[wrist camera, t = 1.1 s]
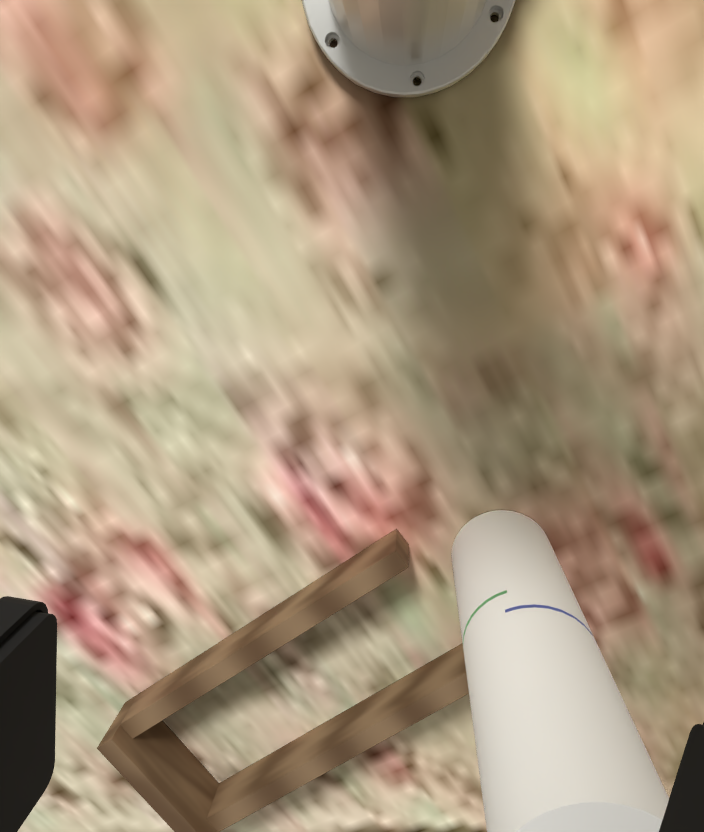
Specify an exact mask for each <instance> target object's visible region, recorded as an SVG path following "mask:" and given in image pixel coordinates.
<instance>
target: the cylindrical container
mask: <svg viewBox="0 0 704 832" xmlns="http://www.w3.org/2000/svg"><path fill="white" fill-rule="evenodd" d="M451 558H452V566H453V574H454V582H455V589H456V597H457V605H458V613H459V620H460V628H461V636H462V643H463V651H464V659H465V666H466V674H467V682H468V689H469V697H470V705H471V712H472V720H473V728H474V735H475V743H476V751H477V758H478V766H479V774H480V781H481V789H482V797H483V804H484V812H485V820H486V827H487V832H659V830H660V826H661V823H662V820H663V817H664V814H665V811H666V807H667V804H668V801H669V797H668V795H667V793H666V791H665V788H664V786H663V784H662V782H661V780H660V778H659V776H658V773H657V771H656V769H655V767H654V765H653V763H652V760H651V758H650V756H649V754H648V752H647V750H646V748H645V745H644V743H643V741H642V739H641V737H640V735H639V733H638V730H637V728H636V726H635V724H634V722H633V720H632V718H631V715H630V713H629V711H628V709H627V707H626V705H625V703H624V700H623V698H622V696H621V694H620V692H619V690H618V688H617V685H616V683H615V681H614V679H613V677H612V675H611V673H610V670H609V668H608V666H607V664H606V662H605V660H604V658H603V655H602V653H601V651H600V649H599V647H598V645H597V643H596V640H595V638H594V636H593V634H592V632H591V630H590V628H589V625H588V623H587V621H586V619H585V617H584V615H583V612H582V610H581V608H580V606H579V604H578V602H577V600H576V597H575V595H574V593H573V591H572V589H571V587H570V584H569V582H568V580H567V578H566V576H565V574H564V572H563V569H562V567H561V565H560V563H559V561H558V559H557V557H556V555H555V552H554V550H553V548H552V546H551V544H550V542H549V540H548V538H547V536H546V534H545V532H544V531H543V529H542V528H541V527H540V526H539V524H537V523H536V522H535V521H534V520H532V519H531V518H529V517H527V516H525V515H523V514H521V513H518V512H514V511H508V510H496V511H490V512H486V513H483V514H481V515H478V516H476V517H474V518H473V519H471V520H470V521H469V522H467V523H466V524H465V525H464V526H463V527H462V528H461V529H460V531H459V533H458V534H457V536H456V538H455V540H454V543H453V546H452V553H451Z"/></svg>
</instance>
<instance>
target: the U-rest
mask: <svg viewBox="0 0 704 832" xmlns="http://www.w3.org/2000/svg"><path fill="white" fill-rule="evenodd" d="M408 564H409V544H408V543H407V542H406V540H405V539H404V538H403V536H402V535H401V534H400V532H399V531H398V530H397V529H396V530H394V531H392V532H391V533H389V534H388V535H386V536H385V537H383V538H381V539H380V540H378V541H377V542H375V543H374V544H372V545H371V546H369V547H367V548H366V549H364V550H363V551H361V552H360V553H358V554H356V555H355V556H353V557H352V558H350V559H349V560H347V561H346V562H344V563H342V564H341V565H339V566H338V567H336V568H335V569H333V570H332V571H330V572H328V573H327V574H325V575H324V576H322V577H321V578H319V579H317V580H316V581H314V582H313V583H311V584H310V585H308V586H307V587H305V588H303V589H302V590H300V591H299V592H297V593H296V594H294V595H292V596H291V597H289V598H288V599H286V600H285V601H283V602H282V603H280V604H278V605H277V606H275V607H274V608H272V609H271V610H269V611H267V612H266V613H264V614H263V615H261V616H260V617H258V618H257V619H255V620H253V621H252V622H250V623H249V624H247V625H246V626H244V627H243V628H241V629H239V630H238V631H236V632H235V633H233V634H232V635H230V636H228V637H227V638H225V639H224V640H222V641H221V642H219V643H218V644H216V645H214V646H213V647H211V648H210V649H208V650H207V651H205V652H203V653H202V654H200V655H199V656H197V657H196V658H194V659H193V660H191V661H189V662H188V663H186V664H185V665H183V666H182V667H180V668H178V669H177V670H175V671H174V672H172V673H171V674H169V675H168V676H166V677H164V678H163V679H161V680H160V681H158V682H157V683H155V684H154V685H152V686H150V687H149V688H147V689H146V690H144V691H143V692H141V693H139V694H138V695H136V696H135V697H133V698H132V699H130V700H129V701H127V702H125V704H124V705H123V707H122V709H121V710H120V712H119V714H118V715H117V717H116V718H115V720H114V722H113V723H112V725H111V726H110V728H109V730H108V731H107V733H106V734H105V736H104V738H103V739H102V741H101V743H100V744H99V746H98V747H97V749H98V750H99V751H100V752H101V753H102V754H103V755H104V756H105V757H106V759H107V760H108V761H109V762H110V763H111V764H112V765H113V766H114V767H115V768H116V769H117V770H118V771H119V772H120V774H121V775H122V776H123V777H124V778H125V779H126V780H127V781H128V782H129V783H130V784H131V785H132V786H133V788H134V789H135V790H136V791H137V792H138V793H139V794H140V795H141V796H142V797H143V798H144V799H145V800H146V801H147V803H148V804H149V805H150V806H151V807H152V808H153V809H154V810H155V811H156V812H157V813H158V814H159V815H160V816H161V818H162V819H163V820H164V821H165V822H166V823H167V824H168V825H169V826H170V827H171V828H172V829H173V830H174V832H219V831H221V830H223V829H225V828H227V827H229V826H230V825H232V824H234V823H236V822H238V821H239V820H241V819H243V818H245V817H247V816H248V815H250V814H252V813H254V812H256V811H257V810H259V809H261V808H263V807H265V806H266V805H268V804H270V803H272V802H274V801H275V800H277V799H279V798H281V797H283V796H284V795H286V794H288V793H290V792H292V791H294V790H295V789H297V788H299V787H301V786H303V785H304V784H306V783H308V782H310V781H312V780H313V779H315V778H317V777H319V776H321V775H322V774H324V773H326V772H328V771H330V770H331V769H333V768H335V767H337V766H339V765H340V764H342V763H344V762H346V761H348V760H349V759H351V758H353V757H355V756H357V755H358V754H360V753H362V752H364V751H366V750H368V749H369V748H371V747H373V746H375V745H377V744H378V743H380V742H382V741H384V740H386V739H387V738H389V737H391V736H393V735H395V734H396V733H398V732H400V731H402V730H404V729H405V728H407V727H409V726H411V725H413V724H414V723H416V722H418V721H420V720H422V719H423V718H425V717H427V716H429V715H431V714H433V713H434V712H436V711H438V710H440V709H442V708H443V707H445V706H447V705H449V704H451V703H452V702H454V701H456V700H458V699H460V698H461V697H463V696H465V695H467V694H469V689H468V682H467V674H466V666H465V659H464V651H463V643H462V644H460V645H459V646H457V647H455V648H454V649H452V650H450V651H448V652H447V653H445V654H443V655H441V656H440V657H438V658H436V659H434V660H433V661H431V662H429V663H428V664H426V665H424V666H422V667H421V668H419V669H417V670H415V671H414V672H412V673H410V674H408V675H407V676H405V677H403V678H401V679H400V680H398V681H396V682H395V683H393V684H391V685H389V686H388V687H386V688H384V689H382V690H381V691H379V692H377V693H375V694H374V695H372V696H370V697H368V698H367V699H365V700H363V701H362V702H360V703H358V704H356V705H355V706H353V707H351V708H349V709H348V710H346V711H344V712H342V713H341V714H339V715H337V716H335V717H334V718H332V719H330V720H329V721H327V722H325V723H323V724H322V725H320V726H318V727H316V728H315V729H313V730H311V731H309V732H308V733H306V734H304V735H303V736H301V737H299V738H297V739H296V740H294V741H292V742H290V743H289V744H287V745H285V746H283V747H282V748H280V749H278V750H276V751H275V752H273V753H271V754H270V755H268V756H266V757H264V758H263V759H261V760H259V761H257V762H256V763H254V764H252V765H250V766H249V767H247V768H245V769H243V770H242V771H240V772H238V773H237V774H235V775H233V776H231V777H230V778H228V779H226V780H224V781H223V782H221V783H218V782H217V781H216V780H215V779H214V777H213V776H212V775H211V774H210V773H209V772H208V771H207V770H206V769H205V767H204V766H203V765H202V764H201V763H200V762H199V761H198V760H197V759H196V757H195V756H194V755H193V754H192V753H191V752H190V751H189V750H188V749H187V747H186V746H185V745H184V744H183V743H182V742H181V741H180V740H179V739H178V738H177V736H176V735H175V734H174V733H173V732H172V731H171V730H170V729H169V728H168V726H167V725H166V724H165V723H164V722H163V721H162V720H164V719H165V718H167V717H168V716H170V715H172V714H173V713H175V712H176V711H178V710H180V709H181V708H183V707H185V706H186V705H188V704H189V703H191V702H193V701H194V700H196V699H197V698H199V697H201V696H202V695H204V694H205V693H207V692H209V691H210V690H212V689H213V688H215V687H217V686H218V685H220V684H222V683H223V682H225V681H226V680H228V679H230V678H231V677H233V676H234V675H236V674H238V673H239V672H241V671H242V670H244V669H246V668H247V667H249V666H251V665H252V664H254V663H255V662H257V661H259V660H260V659H262V658H263V657H265V656H267V655H268V654H270V653H271V652H273V651H275V650H276V649H278V648H279V647H281V646H283V645H284V644H286V643H288V642H289V641H291V640H292V639H294V638H296V637H297V636H299V635H300V634H302V633H304V632H305V631H307V630H308V629H310V628H312V627H313V626H315V625H317V624H318V623H320V622H321V621H323V620H325V619H326V618H328V617H329V616H331V615H333V614H334V613H336V612H337V611H339V610H341V609H342V608H344V607H346V606H347V605H349V604H350V603H352V602H354V601H355V600H357V599H358V598H360V597H362V596H363V595H365V594H366V593H368V592H370V591H371V590H373V589H374V588H376V587H378V586H379V585H381V584H383V583H384V582H386V581H387V580H389V579H391V578H392V577H394V576H395V575H397V574H399V573H400V572H402V571H403V570H405V569H407V568H408Z"/></svg>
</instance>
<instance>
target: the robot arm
mask: <svg viewBox="0 0 704 832" xmlns="http://www.w3.org/2000/svg"><path fill="white" fill-rule="evenodd" d="M302 4H303V8H304V11H305V14H306V18H307V21H308V24H309V27H310V29H311V31H312V34H313V36H314V38H315V40H316V42H317V43H318V45H319V47H320V48H321V50H322V51H323V53H324V55H325V56H326V58H327V59H328V60H329V61H330V62H331V63H332V64H333V65H334V67H335V68H336V69H337V70H338V71H339V72H340V73H341V74H342V75H344V76H345V77H347V78H348V79H349V80H351V81H352V82H353V83H355V84H356V85H358V86H360V87H363V88H365V89H367V90H369V91H371V92H374V93H377V94H381V95H386V96H390V97H418V96H423V95H428V94H433V93H435V92H438V91H440V90H443V89H445V88H447V87H450V86H452V85H454V84H455V83H457V82H458V81H460V80H461V79H463V78H464V77H466V76H467V75H469V74H470V73H471V72H472V71H473V70H474V69H475V68H476V67H477V66H478V65H479V64H480V63H481V62H482V61H483V60H484V59H485V58H486V57H487V56H488V54H489V53H490V51H491V50H492V49H493V47H494V46H495V44H496V43H497V42H498V40H499V38H500V36H501V34H502V32H503V30H504V29H505V27H506V24H507V22H508V20H509V17H510V14H511V12H512V9H513V6H514V4H515V0H302ZM492 15H497V16H498V21H497V22H492V21H491V20H490V17H491V16H492ZM333 40H336V41H337V42H338V45H337V46H336V47H335V48H331V47H330V43H331V41H333ZM415 78H419V79H420V80H421V84H420V85H419V86H415V85H414V84H413V80H414V79H415ZM56 655H57V619H56V617H55V616H54V615H53V614H48V609H47V607H46V604H44V603H43V602H38V601H32V600H26V599H20V598H14V597H9V596H7V597H2V598H1V599H0V832H17V831H18V830H19V828H20V827H21V825H22V824H23V822H24V821H25V819H26V818H27V816H28V815H29V813H30V812H31V810H32V809H33V807H34V806H35V805H36V803H37V802H38V800H39V799H40V797H41V796H42V794H43V793H44V791H45V789H46V788H47V786H48V784H49V781H50V779H51V776H52V773H53V769H54V763H55V716H56ZM659 832H704V723H703V725H701V724H697V725H695V726H694V727H693V728H692V730H691V732H690V735H689V738H688V741H687V744H686V747H685V750H684V754H683V757H682V760H681V763H680V766H679V769H678V773H677V776H676V779H675V782H674V785H673V788H672V792H671V795H670V798H669V801H668V804H667V807H666V811H665V814H664V817H663V820H662V823H661V826H660V830H659Z"/></svg>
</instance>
